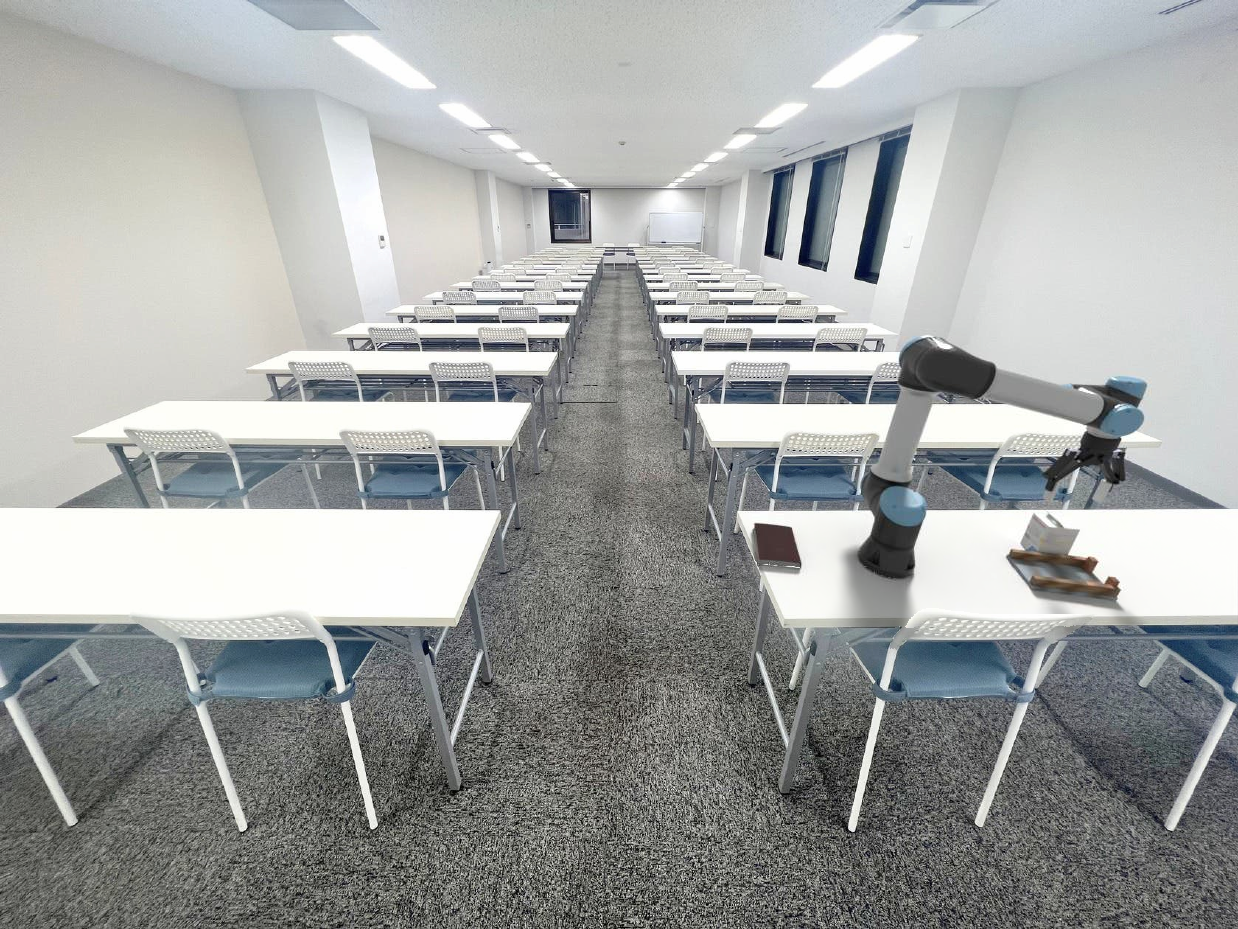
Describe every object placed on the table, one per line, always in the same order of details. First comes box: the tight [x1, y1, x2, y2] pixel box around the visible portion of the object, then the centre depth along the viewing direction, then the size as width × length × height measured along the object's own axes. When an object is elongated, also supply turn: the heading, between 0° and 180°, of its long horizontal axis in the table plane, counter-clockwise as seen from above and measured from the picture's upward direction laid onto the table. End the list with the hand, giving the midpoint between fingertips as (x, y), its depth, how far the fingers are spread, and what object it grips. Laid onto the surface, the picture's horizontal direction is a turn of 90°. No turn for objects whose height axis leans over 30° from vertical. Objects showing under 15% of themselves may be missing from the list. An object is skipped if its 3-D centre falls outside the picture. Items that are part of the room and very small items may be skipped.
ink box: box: [1019, 509, 1081, 555], centre depth 146 cm, size 9×8×13 cm
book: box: [752, 522, 803, 569], centre depth 150 cm, size 12×19×3 cm, turn 170°
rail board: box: [1005, 548, 1122, 601], centre depth 137 cm, size 20×15×5 cm
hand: (1072, 500), depth 139 cm, fingers open, 13 cm apart
